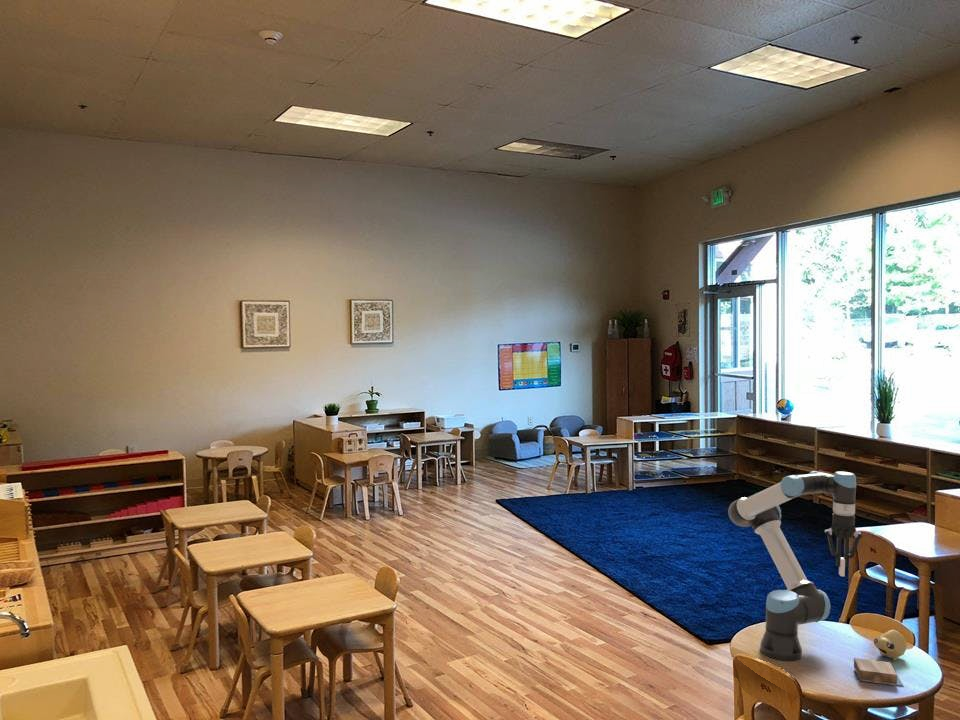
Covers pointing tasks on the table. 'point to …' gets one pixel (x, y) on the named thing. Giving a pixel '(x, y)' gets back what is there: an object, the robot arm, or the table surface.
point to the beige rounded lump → (891, 644)
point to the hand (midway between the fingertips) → (841, 575)
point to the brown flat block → (875, 671)
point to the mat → (895, 684)
